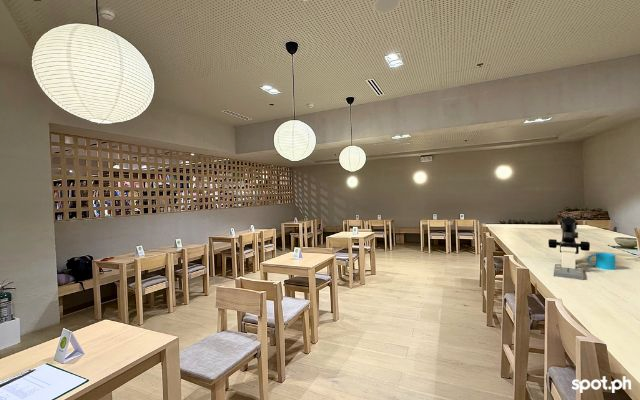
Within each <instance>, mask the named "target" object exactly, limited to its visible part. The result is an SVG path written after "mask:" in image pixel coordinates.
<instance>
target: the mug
mask: <svg viewBox="0 0 640 400" xmlns="http://www.w3.org/2000/svg"><path fill="white" fill-rule="evenodd" d="M594 256H595V264H594V263H592V262H591V261H590V259H591V258H592V257H594ZM587 262H588V263H589V264H590V265H591V266H594V267H595V268H597V269H601V270H607V271H615V270H616V255H615V254H614V253H609V252H596V253H595V254H591V255H589V256H588V257H587Z"/></svg>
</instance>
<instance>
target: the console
mask: <svg viewBox="0 0 640 400" xmlns="http://www.w3.org/2000/svg"><path fill="white" fill-rule="evenodd" d="M583 271H584V270H583V267H582V266H576V265H575V269H573V268H564V267H562V263H555V264H554V268H553V277H558V278H565V279H567V278H568V279H573V280H581V281H583V280H584V272H583Z"/></svg>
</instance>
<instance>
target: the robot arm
mask: <svg viewBox="0 0 640 400" xmlns="http://www.w3.org/2000/svg"><path fill="white" fill-rule="evenodd" d="M578 225H579V221H577V220H576V219H575V218H574V216H570V215H565V216H563V218H562V219H560V229H561V232H562V233H561V235H562V236H561V241H557V239H553V238H549V239H548V248H550V249H556V248H557V247H558V246H559V253H561V254H562V251H561V247H571V248H576V252H575V255H578V254H579V252H580V250H581V251H582V252H583V251H585V252H589V251H590V249H591V248H590V247H591V244H590V242H589V241H580V242H578V243H577V241H576V239H579V232H577V231H576V230H577V228H578ZM579 249H580V250H579ZM560 262H562V259H560ZM576 264H577V262H576V261H575V265H576Z"/></svg>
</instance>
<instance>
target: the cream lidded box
mask: <svg viewBox="0 0 640 400" xmlns="http://www.w3.org/2000/svg"><path fill="white" fill-rule="evenodd" d="M561 251H562V253H561V260H562V261H561V265H562V267H564V268H573V269H575V266H576V264H575V262H576V254H575V252H576V248H571V247H561Z"/></svg>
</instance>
